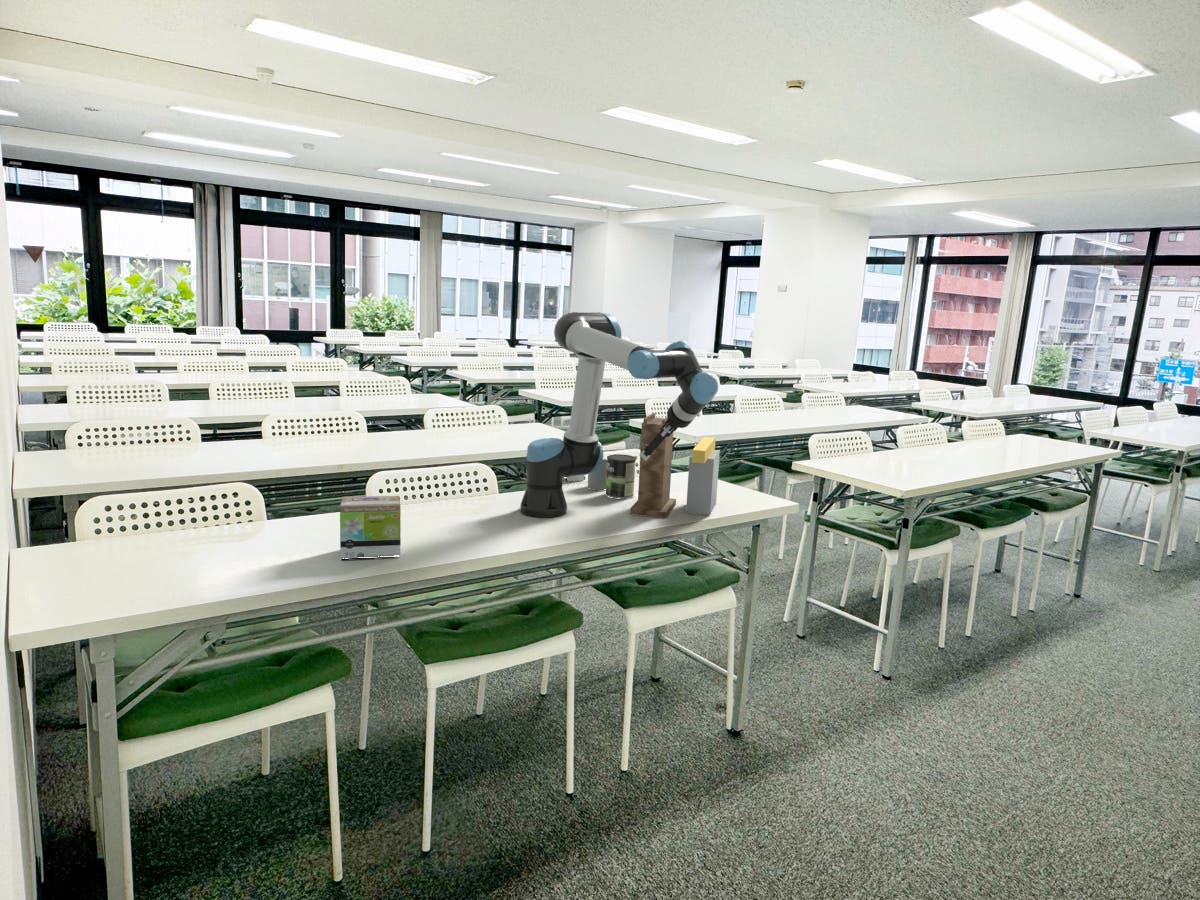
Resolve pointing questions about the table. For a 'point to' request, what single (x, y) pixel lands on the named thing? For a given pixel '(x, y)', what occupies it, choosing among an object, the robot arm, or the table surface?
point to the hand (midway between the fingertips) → (655, 444)
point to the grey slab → (702, 485)
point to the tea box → (370, 526)
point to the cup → (598, 477)
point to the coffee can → (620, 476)
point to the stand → (654, 473)
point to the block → (703, 450)
